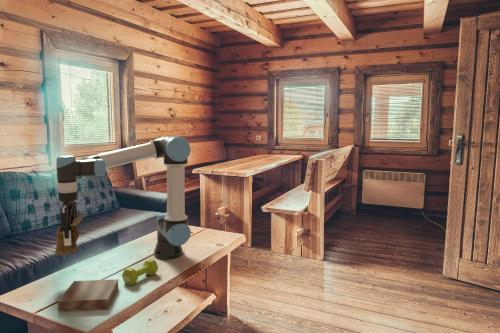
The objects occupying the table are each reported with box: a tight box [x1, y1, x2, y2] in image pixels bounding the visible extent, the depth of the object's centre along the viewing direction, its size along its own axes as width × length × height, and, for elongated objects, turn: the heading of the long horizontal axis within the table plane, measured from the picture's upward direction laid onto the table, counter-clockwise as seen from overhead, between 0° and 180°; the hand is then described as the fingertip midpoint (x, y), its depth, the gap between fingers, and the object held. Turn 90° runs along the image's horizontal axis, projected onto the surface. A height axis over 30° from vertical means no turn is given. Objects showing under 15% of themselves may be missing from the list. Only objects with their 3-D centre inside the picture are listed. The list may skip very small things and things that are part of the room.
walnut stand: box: [57, 279, 119, 313], centre depth 150 cm, size 18×18×4 cm
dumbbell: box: [121, 258, 159, 286], centre depth 170 cm, size 16×8×7 cm, turn 149°
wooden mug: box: [55, 213, 84, 256], centre depth 163 cm, size 9×14×18 cm, turn 75°
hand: (70, 242), depth 164 cm, fingers closed on wooden mug, 7 cm apart
